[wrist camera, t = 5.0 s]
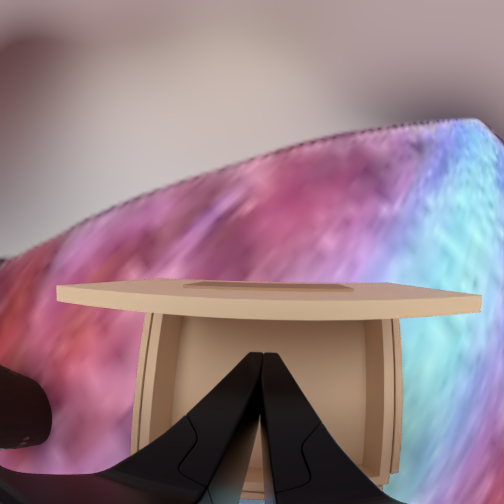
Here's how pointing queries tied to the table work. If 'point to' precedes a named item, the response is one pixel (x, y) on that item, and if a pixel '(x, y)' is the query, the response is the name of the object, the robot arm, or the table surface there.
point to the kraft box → (300, 366)
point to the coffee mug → (22, 411)
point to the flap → (271, 299)
